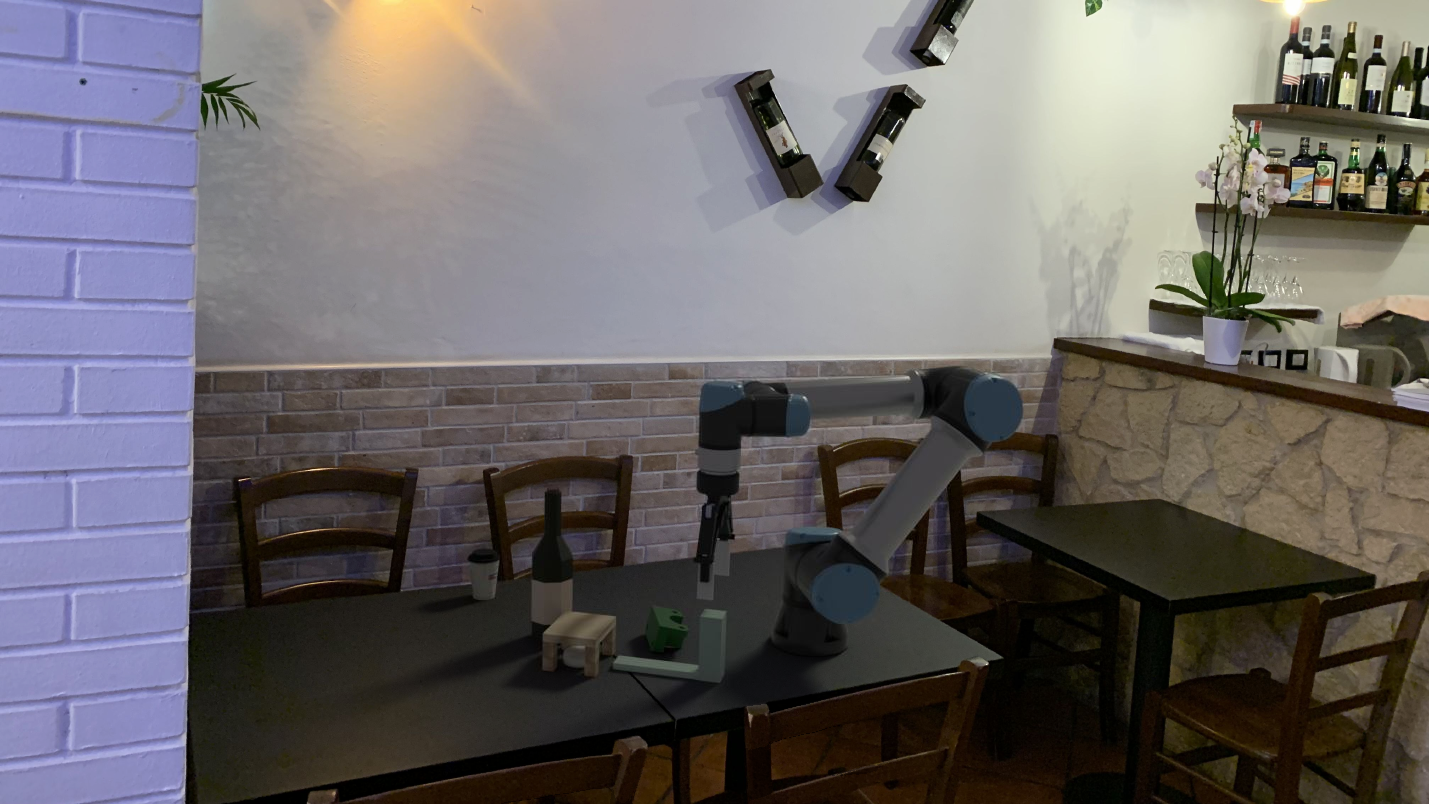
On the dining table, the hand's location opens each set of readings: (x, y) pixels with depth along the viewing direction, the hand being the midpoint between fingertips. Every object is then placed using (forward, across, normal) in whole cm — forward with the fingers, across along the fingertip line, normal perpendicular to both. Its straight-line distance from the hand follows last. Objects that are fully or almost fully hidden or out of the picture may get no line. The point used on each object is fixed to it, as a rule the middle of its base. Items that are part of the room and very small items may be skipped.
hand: (713, 586), depth 191 cm
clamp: (+17, -13, -12) cm, 25 cm away
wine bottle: (+17, -9, -34) cm, 39 cm away
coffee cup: (+18, -27, -56) cm, 64 cm away
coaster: (+18, 0, -25) cm, 30 cm away
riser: (+17, 0, -25) cm, 30 cm away
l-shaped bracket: (+17, 0, -8) cm, 19 cm away
